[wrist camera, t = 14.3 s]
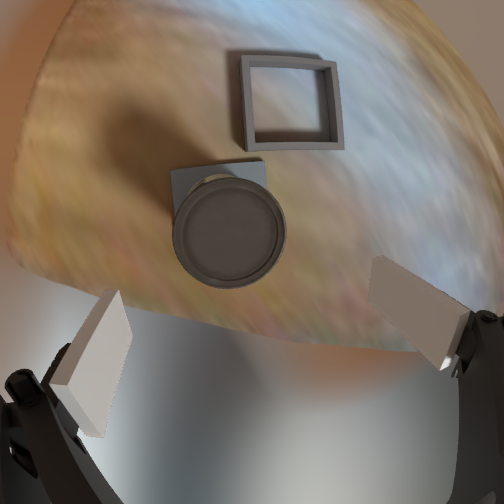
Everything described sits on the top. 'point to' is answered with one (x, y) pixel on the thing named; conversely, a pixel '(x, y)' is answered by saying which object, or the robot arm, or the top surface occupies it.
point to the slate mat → (190, 176)
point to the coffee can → (229, 232)
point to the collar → (296, 63)
